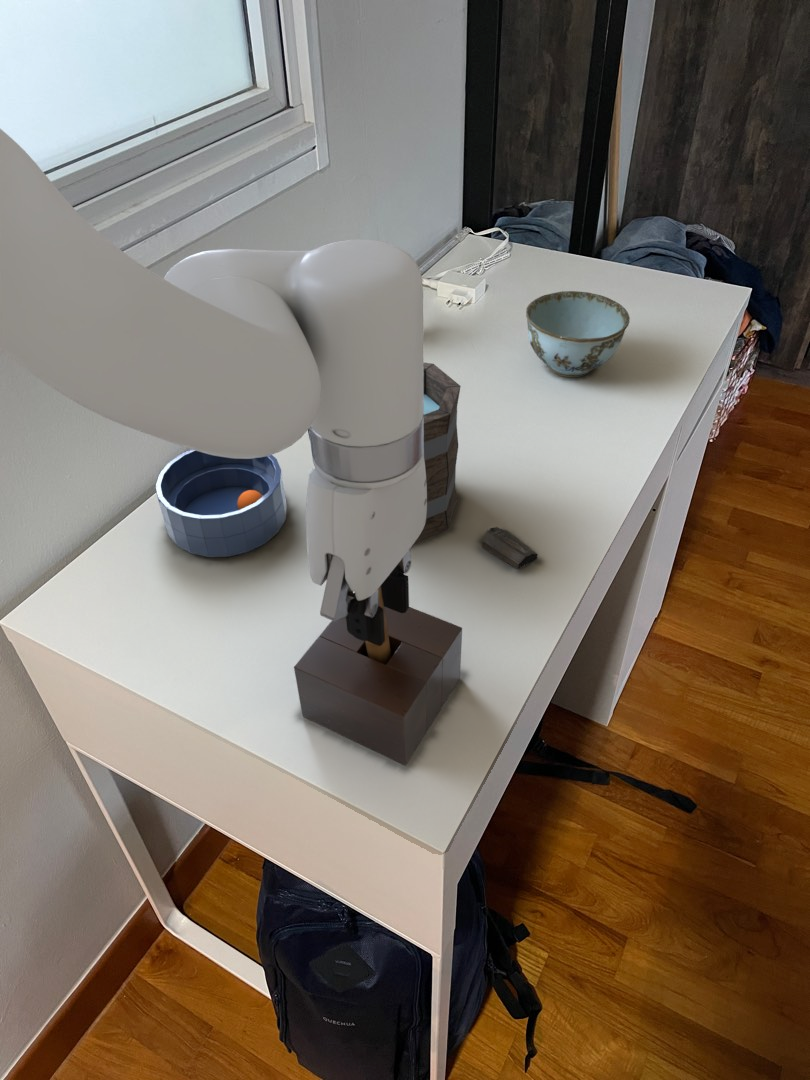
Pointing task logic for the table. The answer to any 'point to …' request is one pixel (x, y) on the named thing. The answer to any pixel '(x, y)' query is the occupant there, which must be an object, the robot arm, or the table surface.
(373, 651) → the stick
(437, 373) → the mug
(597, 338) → the bowl
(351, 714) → the holder
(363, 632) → the robot arm
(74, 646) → the table surface
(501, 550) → the block
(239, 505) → the ball
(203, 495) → the mixing bowl
